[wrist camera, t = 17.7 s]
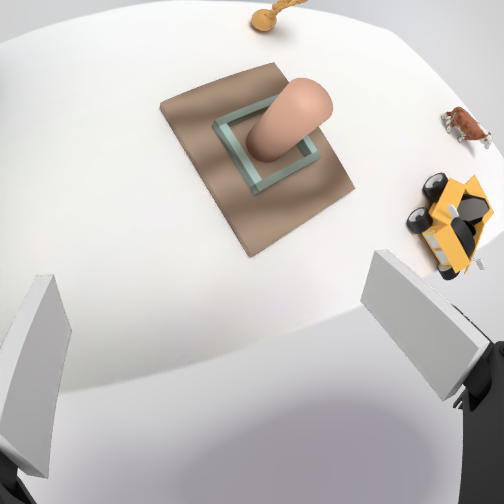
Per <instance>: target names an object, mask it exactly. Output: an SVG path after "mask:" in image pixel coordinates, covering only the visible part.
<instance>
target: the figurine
mask: <svg viewBox="0 0 504 504" xmlns="http://www.w3.org/2000/svg"><path fill="white" fill-rule="evenodd" d="M306 1H308V0H279V1H278V3H277V4H273V5H272V10H266V9H261V10H258V11H256V12H255V13H254V14H253V15H252V18H251V22H252V25H253V26H254V27H255V28H256V29H258V30H260V31H268V30H270V29H272V28H273V27H274V26H275V24H276V15H277V14H278V13H279V12H281V10H282V9H285V8H288V7H290V6H294V5H296V4H301V3H304V2H306Z"/></svg>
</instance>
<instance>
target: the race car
mask: <svg viewBox="0 0 504 504" xmlns="http://www.w3.org/2000/svg"><path fill="white" fill-rule="evenodd" d="M423 189H424V190H425V192H426V193H427V195H428V197H429V198H430V200H431V201H432V202H433V204H432V206H431V208H430V210H429V212H428V210H427V209H426V208H424V207H422V208H418V209H417V210H415V211H414V212H412V213H411V214H410V216H409V218H408V220H407V222H408V224H409V226H410V227H411V228H412V230H413V231H414V233H416V234H420V233H422V235H423V237H424V238H425V240H426V241H427V243H428V244H429V246H430V248H431V249H432V251H433V252H434V254H435V256H436V257H437V259H438V261H439V262H440V263H439V265H438V271H439V272H440V274H441V276H442V277H443V279H445V280H451V279H454V278H455V277H456V276H457V275H458V274H459V272H460V270H462V269H464V268H465V267H466V270H465V272H464V274H465V273H466V271H467V269H468V267H469V266H470V263H471V261H472V260H474V261H476V262H477V265H478V267H479V269H480V270H484V269H485V265H484V263H483V261H482V260H481V259H475V258H473V256H474V253H475V251H476V248H477V245H478V243H479V240H480V237H481V234H482V231H483V228H484V225H485V223H486V222H487V221H488V220H489V218H490V217H491V216H492V215H493V213H494V212H493V210H492V208H491V206H490V204H489V202H488V200H487V197H486V195H485V193H484V192H483V190H482V188H481V186H480V184H479V182H478V180H477V178H476V176H475V175H473V176H472V177H471V179H470V180H469V181H468V182H467V183H466V184H465V185H463V184H461V183H459V182H457V181H455V180H453V179H451V178H449V180H448V178H447V177H446V175H445V174H444V173H438V174H435V175H433V176H432V177H430V178H429V179H428V180H427V181H426V183H425V184H424V186H423Z"/></svg>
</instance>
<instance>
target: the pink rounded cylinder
mask: <svg viewBox="0 0 504 504" xmlns="http://www.w3.org/2000/svg"><path fill="white" fill-rule="evenodd" d="M332 111H333V104H332V100H331V98H330V96H329V94H328V93H327V91H326V90H325V89H324V88H323V87H322V86H321V85H320V84H318V83H317V82H315V81H313V80H310V79H307V78H297V79H294V80H292V81H291V82H290V83H289V84H288V85H287V86H286V87H285V88H284V90H283V91H282V92H281V93H280V94H279V96H278V97H277V98H276V99H275V101H274V102H273V103H272V104H271V105H270V107H269V108H268V109H267V110H266V112H265V113H264V114H263V115H262V117H261V118H260V119H259V120H258V122H257V123H256V124H255V125H254V127H253V128H252V129H251V130H250V132H249V133H248V135H247V137H246V147H247V150H248V152H249V153H250V154H251V156H252V157H254V158H255V159H256V160H258V161H261V162H265V163H270V162H274V161H276V160H277V159H278V158H280V157H281V156H282V155H283V154H285V153H286V152H287V151H288V150H289V149H291V148H292V147H293V146H294V145H296V144H297V143H298V142H299V141H301V140H302V139H303V138H304V137H306V136H307V135H308V134H309V133H311V132H312V131H313V130H315V129H316V128H317V127H318V126H320V125H321V124H322V123H323V122H325V121H326V120H327V119H329V118H330V116H331V114H332Z"/></svg>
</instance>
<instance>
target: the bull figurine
mask: <svg viewBox="0 0 504 504" xmlns="http://www.w3.org/2000/svg"><path fill="white" fill-rule="evenodd" d="M447 116H451V118H450V119H448V121H447V122H446V124H449V126H448V127H447V132H448V133H450V130H451V128H452V127H453V126H457V128H460V130H461V131H462V132H463V133H461V134H460V135H461V137H459V138H458V142H459V143H460V142H461V141H462V140H479V141H480V142H481V143H483V144H484V145H485V148H486V149H488V148H489V146H490V144H491V142H492V136H491V133H488V132H487V130H486V129H485V128H483V127H482V126H481V125H480V124H479V123H478V122H476V121H475V120H474V119H473V118H472V117H471V116H470V115H469V113H468V112H466V111H465V110H464V109H463V108H461V107H456V108H454V110H453V111H452V112H446V113H445V114H444V115H442V120H444V119H445V118H446V117H447ZM451 121H452V122H451ZM464 135H466V136H464Z"/></svg>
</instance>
